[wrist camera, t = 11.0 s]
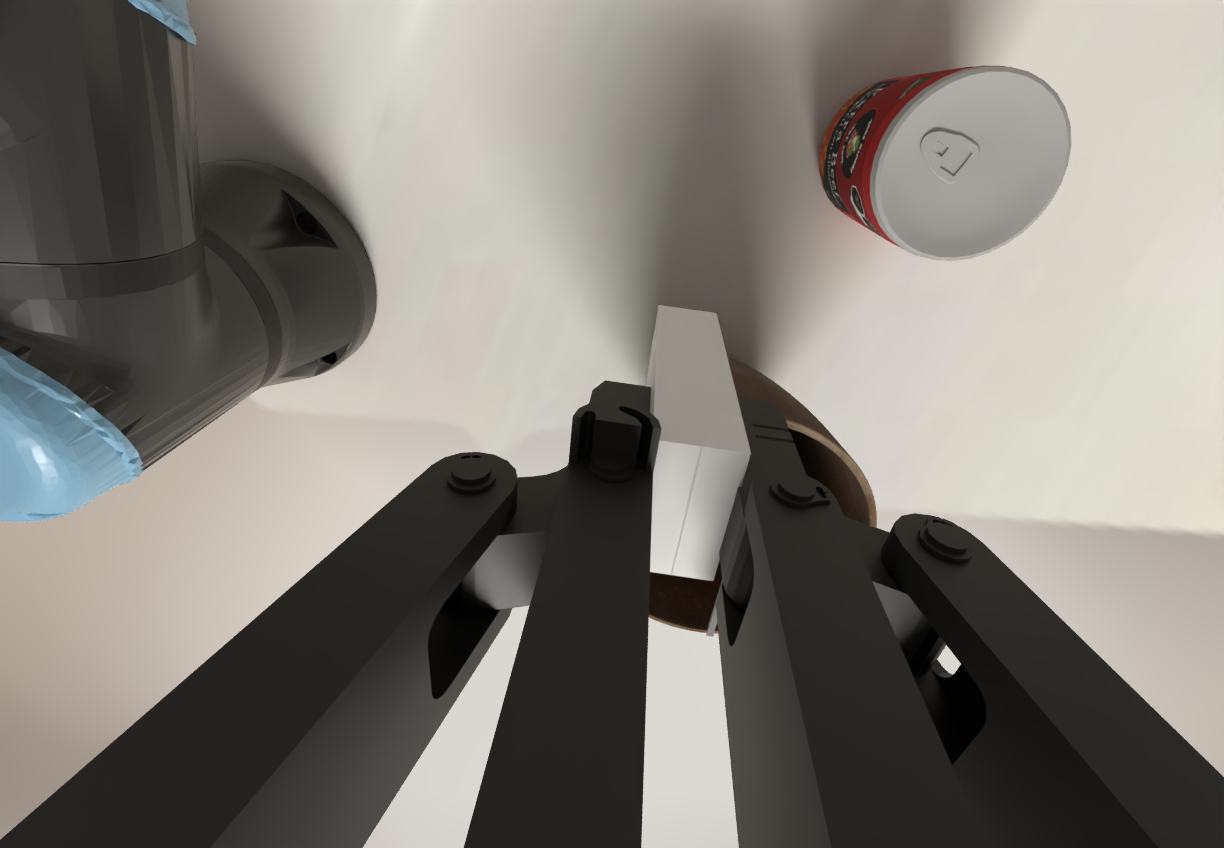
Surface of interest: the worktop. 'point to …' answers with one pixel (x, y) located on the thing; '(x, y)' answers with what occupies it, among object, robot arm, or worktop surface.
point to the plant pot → (822, 461)
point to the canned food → (948, 158)
